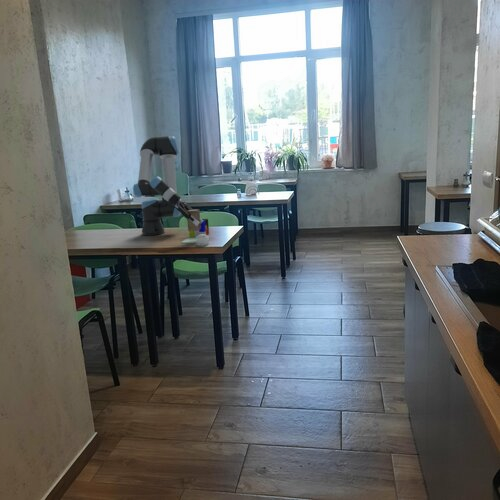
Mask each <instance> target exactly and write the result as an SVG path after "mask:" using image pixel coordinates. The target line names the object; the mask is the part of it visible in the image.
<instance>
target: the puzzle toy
mask: <svg viewBox="0 0 500 500" xmlns="http://www.w3.org/2000/svg"><path fill="white" fill-rule="evenodd" d="M201 219H202V220H203V222H202V223H201V229H200V230H198V231H188V233H189V234H188V235H189V237H196V236H198V235H200V234H206V235H208V236H209V234H210V228H209V227H210V225H209V218H201Z"/></svg>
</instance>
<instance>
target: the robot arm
mask: <svg viewBox="0 0 500 500" xmlns="http://www.w3.org/2000/svg"><path fill="white" fill-rule="evenodd" d="M139 151H140V152H139V156H140V164H139V172H138V178H137V183H135V184H133V187H132V190H133V195H134V196H135V197H145V196H147V197H148V196H161V199H159V198H155V197H154V198H151V199H146V200H143V201H142V202H141V213H142V220H143V221H142V222H143V223H142V230H141V235H142V236H158V235H163V234H165V232H166V231H165V228H164V226H163V223H162V218H163V219H164V218H177V217H180V216H181V215H182V216H183V217H184V218H185V219H186V220H187V219H188V218H189V220H191V221H192V222H193V223H194V224H195V225H196V226H197V225H198V224H199V223H200V224H201V223H202V222H203V220H202V219H203V218H201V217H200V222H198V221H197V220H196V219H195V218H194V217H193V216H192V215H190V214H189V213H188V212H187V211H188V210H194V209H193V208H192V207H191V206H189V204H188V203H186V202H185V201H183V200H182V199H181V196H180V194H179V193H178V191H177V190H178V189H177V171H176V159H177V157H178V154H180V147H179V143H178V140H177V138H176V137H175V136H173V135H172V136H169V135H168V136H153V137H150V138H148V139H147V140H146V141H144V142H143V144H142V146H141V148H140V150H139ZM157 155H159V158H160V159H161V164H162V166H161V167H162V178H161V177H160V176H154V177H153V178H152V168H153V159H155V156H157ZM151 178H152V179H151Z"/></svg>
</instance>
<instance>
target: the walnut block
mask: <svg viewBox="0 0 500 500" xmlns="http://www.w3.org/2000/svg"><path fill="white" fill-rule="evenodd" d="M187 212H188V213H189V214H190V215H192V216H193V217H194V218H195V219H196V220H197V221H198V222H200V218H201V214H200V213H201V212H200V209H193V210H188V211H187ZM186 220H187V221H186V223H187V231H188V232H189V231H198V230H200V229H201V224H200V223H199V224H198V225H197V226H196V225H195V224H194V223H193V222H192V221H191V220H189V218H188V219H186Z"/></svg>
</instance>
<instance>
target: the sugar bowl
mask: <svg viewBox="0 0 500 500" xmlns="http://www.w3.org/2000/svg"><path fill="white" fill-rule="evenodd" d="M208 237H209V234H208V235H206V234H200V235H198V236H196V242H197V243H196V246H197V247H204V246H205V245H206V246H208V244H210V243H209V239H208Z"/></svg>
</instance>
